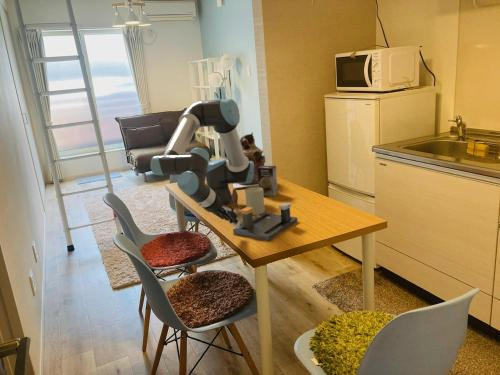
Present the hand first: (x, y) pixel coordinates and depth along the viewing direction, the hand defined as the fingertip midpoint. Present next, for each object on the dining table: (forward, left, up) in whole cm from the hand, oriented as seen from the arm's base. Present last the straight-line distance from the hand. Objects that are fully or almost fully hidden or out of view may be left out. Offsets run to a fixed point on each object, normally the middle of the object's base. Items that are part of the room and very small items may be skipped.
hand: (238, 225), depth 170 cm
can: (-12, +29, -5) cm, 32 cm away
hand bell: (-12, +14, -5) cm, 19 cm away
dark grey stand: (+5, +13, -5) cm, 15 cm away
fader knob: (0, +7, -4) cm, 8 cm away
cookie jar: (-45, +73, -5) cm, 86 cm away
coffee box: (-22, +56, -5) cm, 60 cm away
